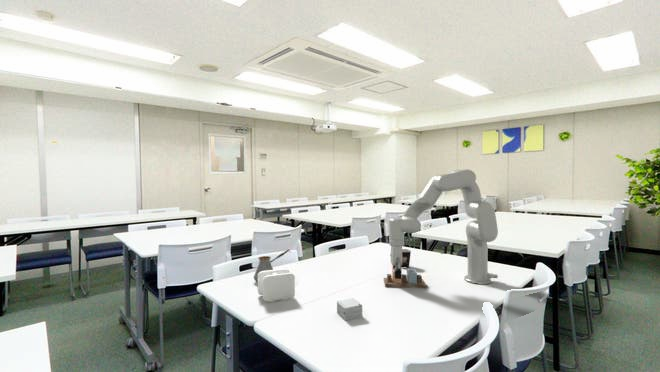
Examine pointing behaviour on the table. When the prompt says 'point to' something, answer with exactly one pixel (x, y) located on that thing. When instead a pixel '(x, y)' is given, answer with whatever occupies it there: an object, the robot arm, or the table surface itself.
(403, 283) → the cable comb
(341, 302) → the small box
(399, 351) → the table surface
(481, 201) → the robot arm
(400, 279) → the terracotta plug
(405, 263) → the coffee mug
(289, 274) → the cable organizer
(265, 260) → the coffee pot
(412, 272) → the slate plug
